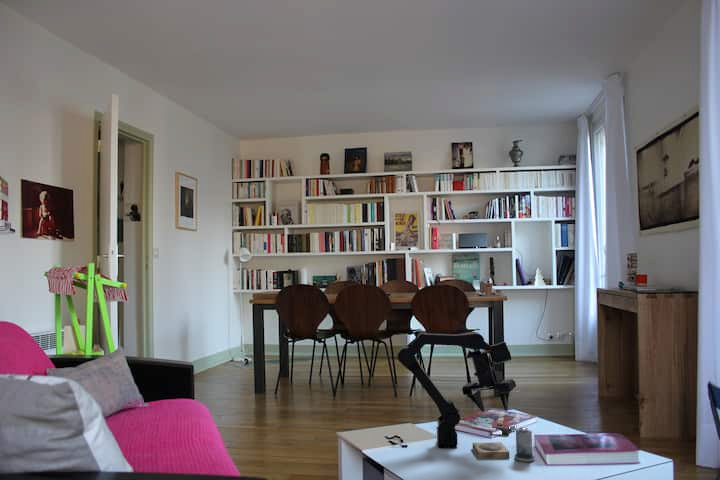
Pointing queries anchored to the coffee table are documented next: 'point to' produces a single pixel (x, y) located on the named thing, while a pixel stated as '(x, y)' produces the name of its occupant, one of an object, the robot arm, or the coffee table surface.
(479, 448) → the stand
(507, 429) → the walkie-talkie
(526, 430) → the cylinder
